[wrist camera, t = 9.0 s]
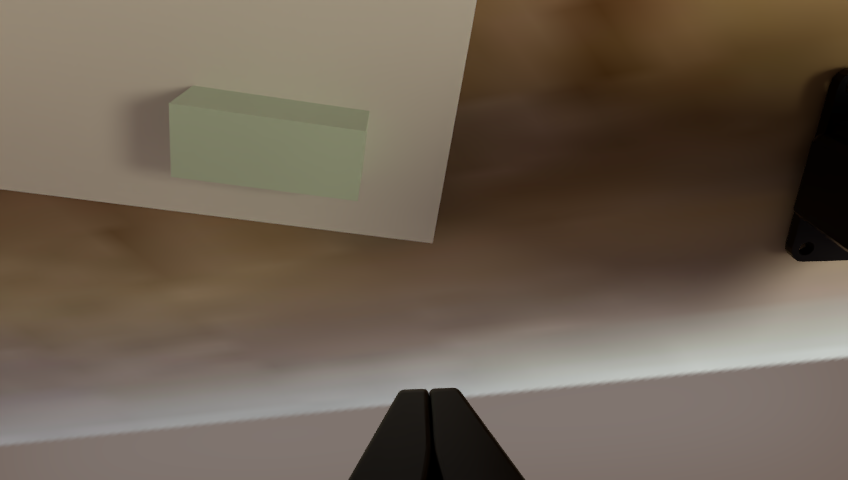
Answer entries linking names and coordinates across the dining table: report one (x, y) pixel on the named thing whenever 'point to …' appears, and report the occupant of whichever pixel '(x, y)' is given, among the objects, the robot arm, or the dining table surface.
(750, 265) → the dining table surface
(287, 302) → the dining table surface
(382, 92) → the base plate
